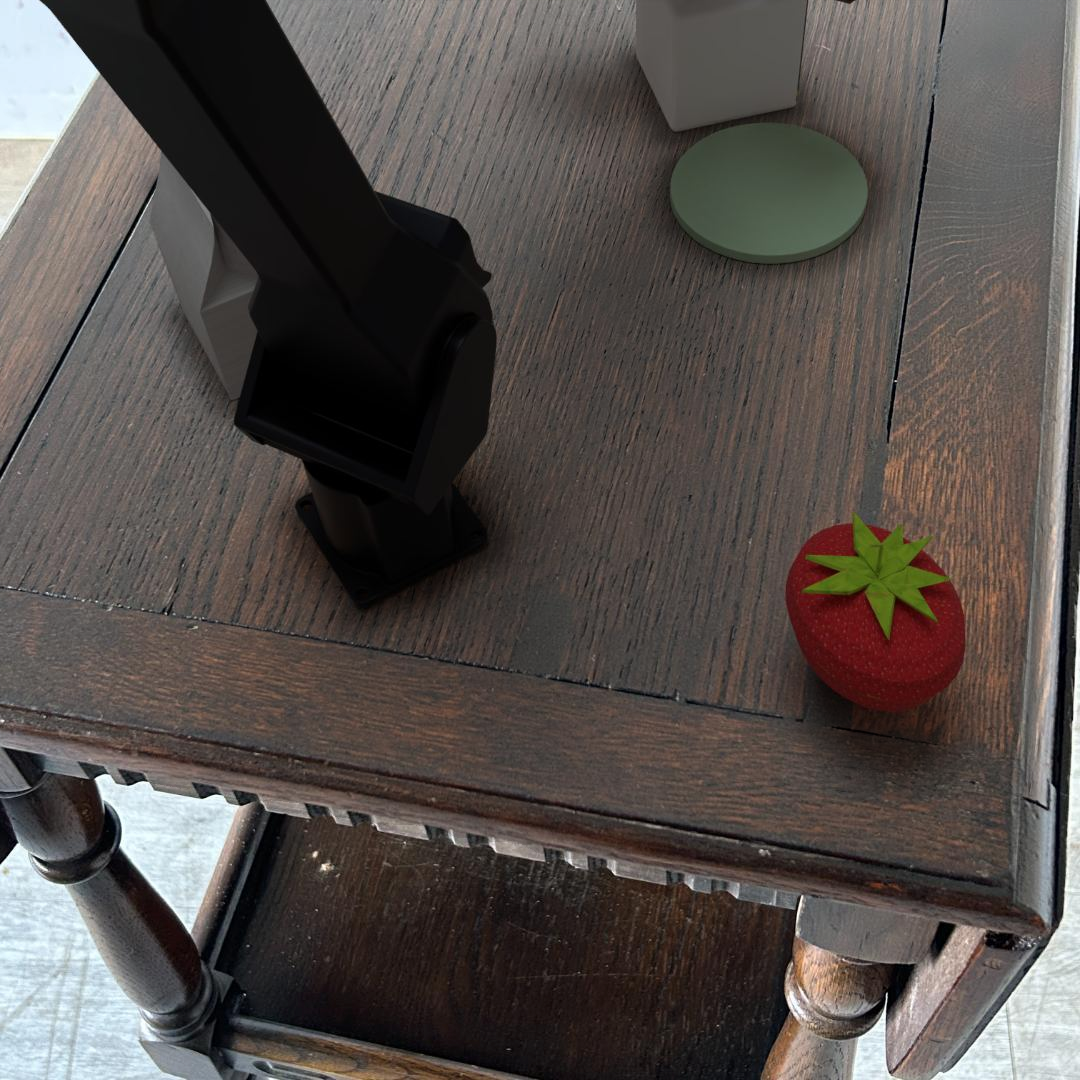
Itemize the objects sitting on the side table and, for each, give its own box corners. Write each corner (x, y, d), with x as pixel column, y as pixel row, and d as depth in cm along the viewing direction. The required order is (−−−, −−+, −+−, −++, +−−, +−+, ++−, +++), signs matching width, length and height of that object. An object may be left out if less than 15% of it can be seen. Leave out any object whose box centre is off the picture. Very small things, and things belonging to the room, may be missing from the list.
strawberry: (846, 795, 53) (884, 663, 45) (741, 643, 57) (758, 498, 49) (975, 728, 54) (1035, 588, 46) (863, 584, 58) (900, 433, 50)
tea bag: (231, 400, 66) (174, 242, 58) (183, 311, 70) (122, 151, 61) (303, 370, 67) (257, 210, 59) (252, 283, 70) (201, 121, 62)
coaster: (907, 212, 71) (909, 203, 70) (745, 292, 68) (745, 283, 68) (787, 107, 76) (788, 98, 75) (632, 178, 73) (632, 169, 73)
